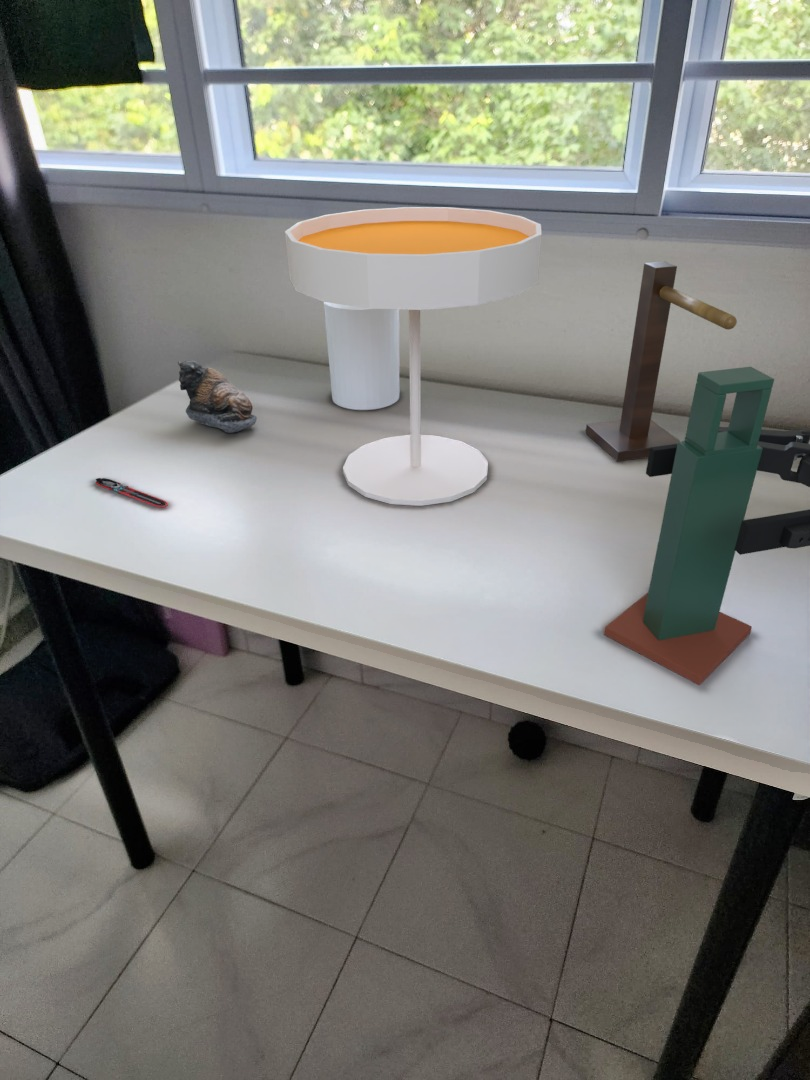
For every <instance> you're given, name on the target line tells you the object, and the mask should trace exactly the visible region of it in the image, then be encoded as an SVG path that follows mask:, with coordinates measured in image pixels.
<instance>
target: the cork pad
mask: <svg viewBox="0 0 810 1080" xmlns="http://www.w3.org/2000/svg"><path fill="white" fill-rule="evenodd" d="M647 597H648V592H647V593H645V594H644V595H643V596H642V597H640V598H639V599H638V600H637V601H635V602H634V603H633V604H632V605H630V606H629V607H628V608H626V609H625V610H624V611H623V612H621V614H618V615H617V617H616V618H614V619H613V620H612V621H611V622H609V623H608V624H606V626H605V627H604V632H603V635H604V636H605V637H607V638H609V639H611V640H613V641H614V642H617V643H619V644H621V645H622V646H624V647H626V648H628V649H630V650H632V651H634V652H636V653H637V654H640V655H641V656H643V657H645V658H647V659H649V660H651V661H652V662H654V663H656V664H658V665H660V666H662V667H664V668H666V669H668V670H670V671H672V672H673V673H675V674H677V675H679V676H681V677H683V678H685V679H687V680H688V681H690V682H693V684H696V685H698V686H700V685H702V684H703V683H704V681H706V679H708V678H709V677H710V675H711V674H713V672H715V670H716V669H717V668H719V666H720V665H721V664H722V663H724V662H725V660H727V658H728V657H729V656H730V655H731V654H732V653H734V651H735V650H736V649H737V648H738V647H739V646H740V645H741V644H742V643H743V642H744V641H745V640H746V639H747V638H748V637H749V636H750V634H751V632H752V629H753V626H752V625H750V624H748V623H745V622H743V621H741V620H739V619H737V618H735V617H732V616H730V615H728V614H725V613H723V612H721V611H719V615H718V619H717V623H716V626H715V630H712V631H707V632H701V633H696V634H691V635H686V636H680V637H675V638H670V639H665V640H658V639H657V638H656V637H655V636H654V635H653V633H652V632H651V631H650V630H649V629H648V627H647V626H646V625H645V624H644V623H643V617H644V612H645V607H646V602H647Z"/></svg>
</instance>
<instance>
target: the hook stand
mask: <svg viewBox="0 0 810 1080" xmlns="http://www.w3.org/2000/svg"><path fill="white" fill-rule="evenodd" d="M677 269H678V266H677V265H675V264H672V263H669V262H668V261H665V260H663V261H651V262H650V261H649V262H643V269H642V276H641V282H640V288H639V289H640V290H639V295H638V303H637V309H636V316H635V322H634V323H635V324H634V329H633V335H632V336H633V337H632V341H631V349H630V357H629V363H628V370H627V377H626V383H625V389H624V398H623V403H622V410H621V416H620V419H616V420H606V421H600V422H591V423H586V426H585V434H586V435H587V436H588V437H589V438H591V439H592V440H593V441H594V442H595V444H597V445H598V446H599V447H601V448H602V449H603V450H604V451H605V452H606V453H607V454H608V455H609V456H611V457H612V459H614V460H615V461H616V462H624V461H632V460H639V459H646V458H649V452H650V447H657V446H664V445H671V444H678V442H681V440H679V439H678V438H677V437H675V435H672V434H671V433H670V432H668V430H666V429H665V428H664V427H662V426H661V425H660V424H659V423H657V422H655V421H654V420H652V416H653V415H652V414H653V409H654V402H655V397H656V392H657V385H658V381H659V380H658V379H659V374H660V369H661V364H662V363H661V362H662V358H663V357H662V356H663V350H664V346H665V345H664V344H665V339H666V333H667V328H668V323H669V316H670V310H671V305H675V306H677V307H679V308H681V309H683V310H686V311H687V312H689V313H691V314H693V315H696V316H697V317H700V318H702V319H704V320H706V321H708V322H710V323H711V324H714V325H716V326H718V327H720V328H722V329H724V330H732V329H735V327H736V325H737V322H738V321H737V320H738V319H737V317H736V316H735V315H733V314H732V313H729V312H726V311H724V310H722V309H720V308H717V307H715V306H713V305H711V304H709V303H706V302H705V301H702V300H700V299H698V298H695V297H693V296H691V295H688V294H687V293H684V292H682V291H680V290H677V289H675V288H674V287H675V280H676V275H677V271H678V270H677Z"/></svg>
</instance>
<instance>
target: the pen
mask: <svg viewBox="0 0 810 1080" xmlns="http://www.w3.org/2000/svg"><path fill="white" fill-rule="evenodd" d="M95 484H96V485H98V487H101V488H105V489H107V490H109V491H111V490H113V491H115V492H116V493H119V494H121V495H125V496H127V497H129V498H133V499H136V500H138V501H140V502H144V503H146V504H149V505H151V506H153V507H157V508H158V507H159V508H166V507H168V506H169V503H168V502H167V501H166V500H164V499H161V498H159V497H156V496H154V495H151V494H148V493H145V492H144V491H143V492H142V491H140V490H137V489H135V488H132V487H130V486H129V485H124V484H122V483H121V482H117V481H115V480H113V479H110V478H105V477H97V478H95Z"/></svg>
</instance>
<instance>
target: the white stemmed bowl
mask: <svg viewBox="0 0 810 1080" xmlns="http://www.w3.org/2000/svg"><path fill="white" fill-rule="evenodd" d="M542 234H543V233H542V223H539V222H536V221H534V220H532V219H529V218H527V217H524V216H522V215H517V214H511V213H506V212H500V211H495V210H487V209H475V208H474V209H473V208H461V207H449V206H448V207H442V206H440V207H437V206H436V207H435V206H433V207H432V206H431V207H430V206H429V207H426V206H420V207H419V206H402V207H401V206H400V207H386V208H368V209H359V210H351V211H343V212H336V213H329V214H324V215H323V214H322V215H320V216H316V217H312V218H308V219H305V220H301V221H297V222H296V223H294V225H292V226H291V227H289V228H288V229H286V230H285V231H284V237H285V247H286V256H287V269H288V278H289V282H290V283H291V285H292V286H293V288H294V291H295V292H297V293H300V294H302V295H304V296H307V297H309V298H311V299H315V300H317V301H321V302H322V303H324V302H328V303H335V304H341V305H348V306H355V307H361V308H368V309H399V310H407V311H408V354H409V355H408V358H409V359H408V360H409V361H408V363H409V365H408V366H409V434H404V435H395V436H389V437H387V436H386V437H384V438H380V439H377V440H374V441H371V442H368V443H365V444H363V445H361V446H360V447H358V448H357V449H355V450H354V451H352V452H351V453H350V454H348V455H347V458H346V460H345V462H344V464H343V467H342V474H343V476H344V478H345V480H346V483H347V485H348V487H350V488H351V489H352V490H354V491H356V492H357V493H359V494H360V495H362V496H363V497H365V498H368V499H371V500H375V501H379V502H382V503H386V504H389V505H399V506H400V505H403V506H416V507H417V506H419V507H422V506H429V505H436V504H443V503H450V502H454V501H457V500H458V499H461V498H463V497H465V496H468V495H470V494H473V493H475V492H476V491H477V490H478V489H479V488H480V487H481V486H482V485H484V483H485V482H486V481H488V480H487V479H488V471H489V470H488V468H489V461H488V460H487V458H486V457H485V456H484V455H483V453H482V452H481V451H480V450H479V449H477V448H476V447H473V446H472V445H469V444H468V443H465V442H464V441H461V440H458V439H454V438H450V437H445V436H442V435H441V436H440V435H433V434H429V435H428V434H422V419H421V418H422V411H421V410H422V409H421V407H422V405H421V404H422V403H421V401H422V399H421V397H422V395H421V393H422V392H421V391H422V390H421V384H422V383H421V381H422V380H421V377H422V376H421V375H422V373H421V311H427V310H441V309H451V308H461V307H474V306H481V305H484V304H489V303H493V302H497V301H501V300H505V299H509V298H514V297H518V296H520V295H521V294H523V293H525V292H527V291H528V290H530V289H531V288H533V287H535V286H537V285H538V284H539V273H540V260H541V250H542V249H541V247H542Z"/></svg>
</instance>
